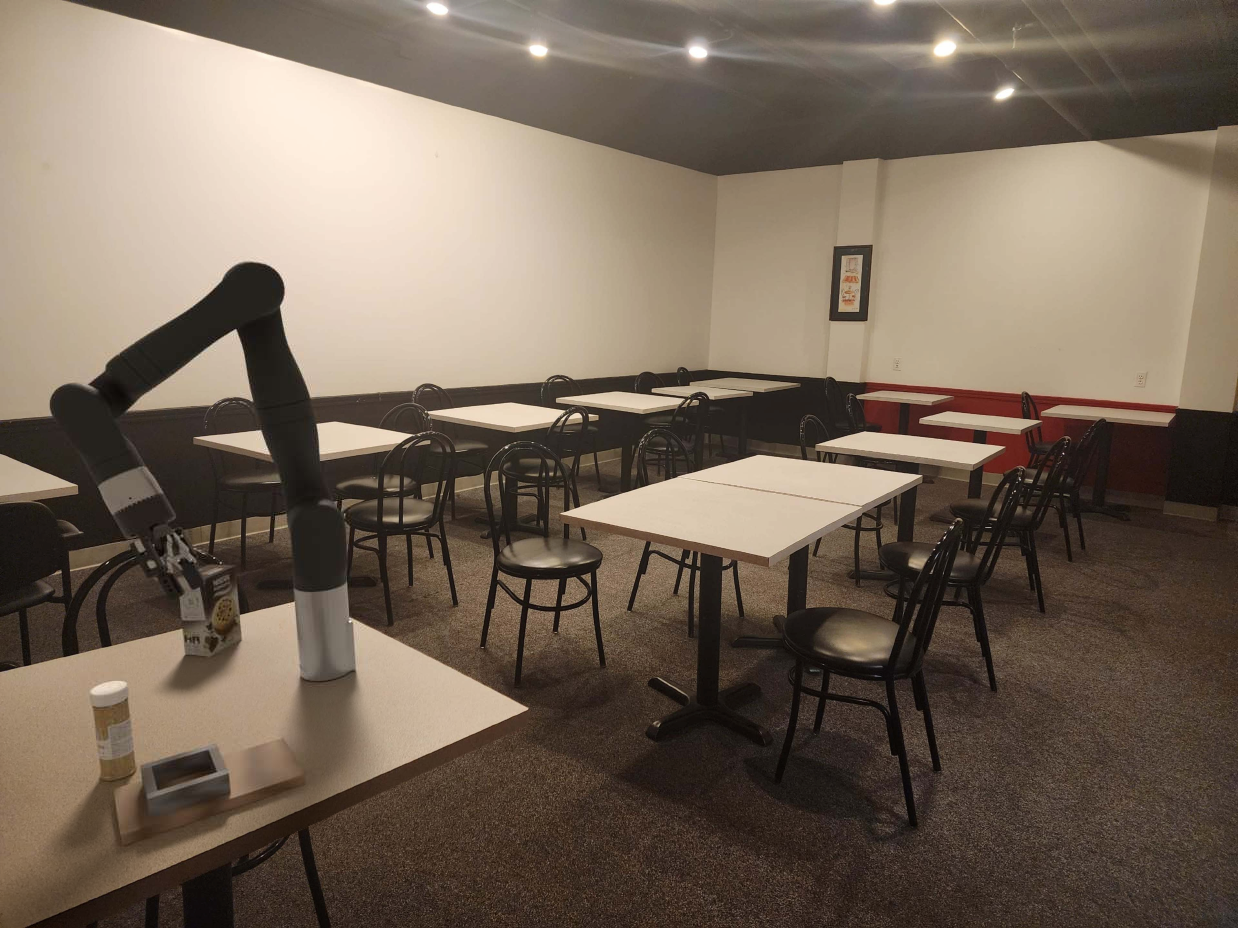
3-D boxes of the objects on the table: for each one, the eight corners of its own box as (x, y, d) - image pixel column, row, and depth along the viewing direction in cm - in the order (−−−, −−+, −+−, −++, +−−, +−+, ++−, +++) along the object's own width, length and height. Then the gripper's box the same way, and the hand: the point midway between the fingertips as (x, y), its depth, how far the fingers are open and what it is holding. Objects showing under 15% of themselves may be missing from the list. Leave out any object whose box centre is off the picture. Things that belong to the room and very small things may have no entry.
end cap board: (284, 746, 117) (282, 719, 116) (305, 783, 107) (303, 754, 107) (114, 798, 104) (110, 769, 103) (121, 845, 94) (117, 813, 94)
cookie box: (212, 657, 148) (204, 579, 145) (183, 654, 150) (175, 576, 147) (243, 639, 157) (236, 564, 154) (216, 636, 158) (209, 562, 156)
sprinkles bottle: (96, 773, 110) (84, 687, 107) (131, 760, 113) (121, 676, 111) (106, 785, 107) (94, 697, 104) (142, 771, 110) (132, 686, 108)
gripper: (139, 494, 112) (194, 589, 114) (178, 488, 126) (226, 573, 128) (90, 517, 111) (146, 613, 113) (135, 509, 125) (184, 594, 127)
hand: (189, 592), depth 120 cm, fingers open, 8 cm apart
